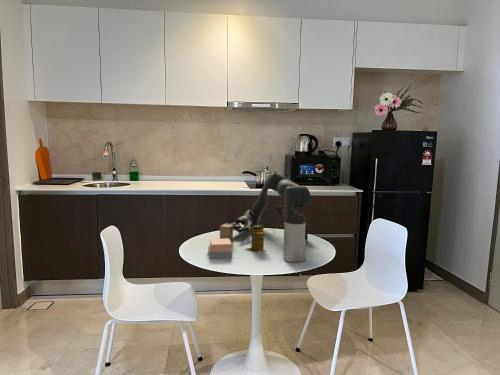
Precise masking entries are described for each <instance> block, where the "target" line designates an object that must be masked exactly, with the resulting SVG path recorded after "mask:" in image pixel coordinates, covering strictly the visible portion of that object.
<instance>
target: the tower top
mask: <svg viewBox="0 0 500 375" xmlns="http://www.w3.org/2000/svg"><path fill="white" fill-rule="evenodd" d="M209 246H210V248H211V252H230V251H232V252H233V249H232V247H233V245H232V244H231V242H230V240H229V239H220V238H210V239H209Z"/></svg>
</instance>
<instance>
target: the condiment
mask: <svg viewBox="0 0 500 375" xmlns="http://www.w3.org/2000/svg"><path fill="white" fill-rule="evenodd" d="M250 238H251V239H250V240H251V242H250V243H251V244H250V245H251V246H250V247H248V248H247V247H246V248H244V250H245V251H247V252H250V253H251V254H255V253H261V252H266V251H267V249H264V248H265V247H264V246H265V243H264V242H265V239H264V238H265V231H264V226H263V225H262V224H258V225H253V226H252V230H251V237H250Z"/></svg>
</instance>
